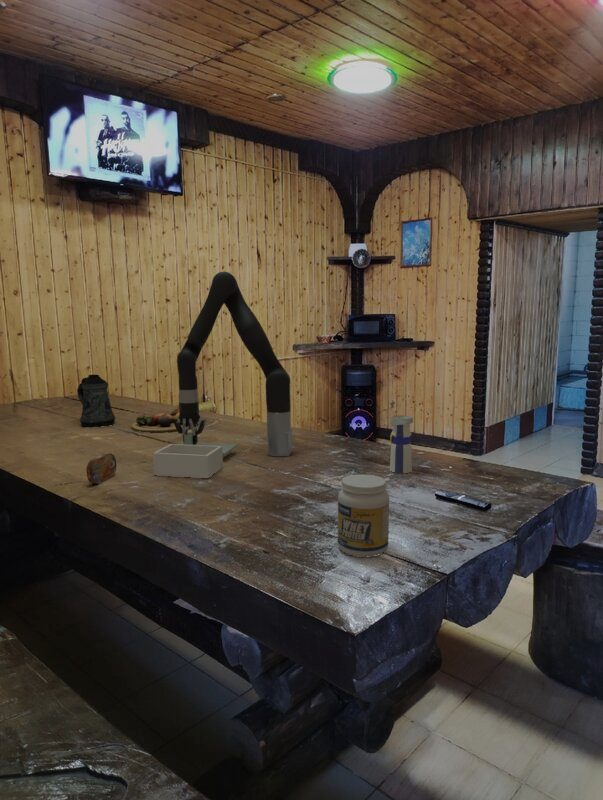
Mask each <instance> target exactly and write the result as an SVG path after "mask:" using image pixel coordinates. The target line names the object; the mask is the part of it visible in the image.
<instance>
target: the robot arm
mask: <svg viewBox="0 0 603 800" xmlns="http://www.w3.org/2000/svg"><path fill="white" fill-rule="evenodd" d="M224 305H225V307H226V308H227V310H228V312H229V314H230V316H231V320H232V322H233V324H234V327H235V329H236V331H237V334H238V336H239V338H240V340H241V341H242V343H243V345H244V347H245V348H246V349H247V351H248V352H249V354H251V356H252V357H253V358H254V360H256V361H257V363H258V365H259V366H260V368H261V371H262V373H263V375H264V377H265V404H266V435H267V437H266V438H267V440H266V441H267V444H266V445H267V449H266V450H267V455H268V456H271V457H290V456H291V455H292V453H293V429H292V428H291V427H292V425H291V423H292V422H291V420H292V419H291V392H290V391H291V377H290V375H289V374H288V372H287V371H286V370H285V367H283V365H282V364H281V362H280V360H279V359H278V357H277V356H276V353H275V352H274V349H273V347H272V344H271V342H270V340H269V338H268V336H267V334H266V332H265V330H264V328H263V326H262V325H261V323H260V321H259V320H258V318H257V316H256V315H255V314H254V312H253V311H252V309H251V308H250V307H249V305H248V304H247V302H246V300H245V299H244V296H243V294H242V292H241V290H240V287H239V285H238V281H237V279H236V277H235V276H234V275H233V273H230V272H228V271H220V272H217V273H216V274H215V275H214V276H213V277H212V281H211V285H210V288H209V290H208V294H207V297H206V299H205V302H204V304H203V306H202V308H201V310H200V312H199V314H198V315H197V317H196V320H195V321H194V323H193V325H192V327H191V329H190V332H189V333H188V335H187V339H186V341H185V343H184V345H183V347H181V350H180V352H178V354H177V355H176V357H177V358H176V365H177V373H178V408H179V413H180V415H179V418H176V419H174V420H173V423H174V425H175V427H176V429H177V434H181V435H182V441H183V443H184V435H186V434H188V433H189V429H188V428H189V427H191V428H190V430H191V433H192V434H193V445H195V444H196V443H197V442H199V441H198V439H199V438H198V435H200V434H202V433H203V431H204V428H205V425H206V424H207V419H205V418H204V419H203V418H201V415H200V405H199V403H200V401H199V391H198V377H197V373H196V370H197V368H196V367H197V366H196V365H197V363H196V362H197V361H198V359H199V356H200V354H201V352H202V349H203V347H204V346H205V344H206V343H207V341H208V338H209V336H210V334H211V333H212V330H213V328H214V326H215V323H216V321H217V318H218V315H219V314H220V311H221V309H222V308H223V306H224ZM180 421H181V422H182V424H183V426H182V427H181V424H180ZM197 423H198V424H199V425H198V424H197Z"/></svg>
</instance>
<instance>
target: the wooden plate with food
mask: <svg viewBox="0 0 603 800" xmlns="http://www.w3.org/2000/svg"><path fill="white" fill-rule="evenodd" d="M179 415H180V413H179V407H177V408H176V409H173V411H171V412H170V414H169V413H165V412H161V413H159V414H154V415H150V416H146V414H143V415H139V416H137V417H136V419H135V422H134V423H132V424H131V427H130V428H131V430H133V431H134V430H136V431H135V432H137V431H141V432H140V433H144V432H150V433H149V434H166V433H167V432H168V433H175V432H177V433H178V431H177V429H176V427H175V425H174V423H173V420H174V419H176V418H179ZM180 424H181V427H182V426H183V424H182V422H181V421H180ZM198 424H199V422H198V423H197V425H198ZM189 429H190V430H191V427H189V428H188V430H189ZM165 432H166V433H165Z"/></svg>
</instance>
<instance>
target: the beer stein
mask: <svg viewBox="0 0 603 800" xmlns="http://www.w3.org/2000/svg"><path fill="white" fill-rule="evenodd" d="M80 381H81V382H80V383H79V385H78V386H77V390H76V391H77V392H76V393H77V398H78V400H79V401H80V402H79V403H81V405H82V411H81V415H80V417H79V418H80V419H79V420H80V424H81V427H82V426H84V427H83V428H85V427H101V426H108V427H110V426H109V425H112V426H114V425H115V422H116V421H115V419H116V416H115V414H114V412H113V408H112V406H111V401H110V397H109V392H108V388H109V383H108V382H107V381H106V380H105V379H103V378H102V377H100V375H99V374H89V375H88V376H87V377H83V378H82V379H81V380H80ZM113 424H114V425H113ZM101 428H102V427H101Z"/></svg>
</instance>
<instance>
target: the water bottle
mask: <svg viewBox="0 0 603 800" xmlns="http://www.w3.org/2000/svg"><path fill="white" fill-rule="evenodd" d="M395 404H396V401H394V399H392V400H391V403H389V405H390V410H391V409H394V408H395V407H394V405H395ZM413 423H414V417H413V416H411V415H404V414H403V415H402V414H399V415H398V414H396V415H393V416H392V417H390V419H389V424H390V426H391V427H393V428H392V431H391V433H390V437H389V438H390V440H389V443H390V444H391V445H390V459H389V460H390V462H389V472H390V471H392V472H396V473H408V472H411V471H412V472H413V469H412V468H413V465H412V463H413V461H412V452H413V451H412V444H411V437H412V433H411V424H413ZM392 472H391V473H392ZM412 472H411V473H412ZM396 473H395V474H396ZM408 474H409V473H408Z"/></svg>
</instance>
